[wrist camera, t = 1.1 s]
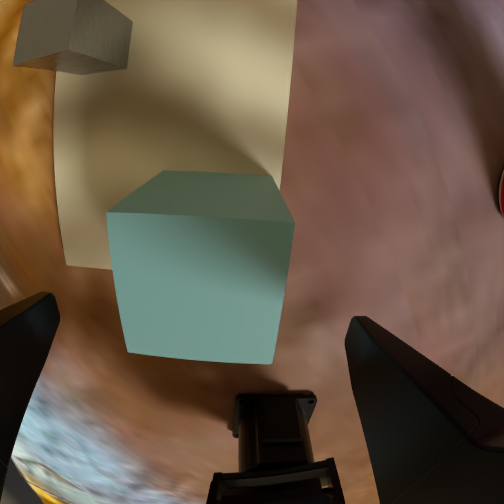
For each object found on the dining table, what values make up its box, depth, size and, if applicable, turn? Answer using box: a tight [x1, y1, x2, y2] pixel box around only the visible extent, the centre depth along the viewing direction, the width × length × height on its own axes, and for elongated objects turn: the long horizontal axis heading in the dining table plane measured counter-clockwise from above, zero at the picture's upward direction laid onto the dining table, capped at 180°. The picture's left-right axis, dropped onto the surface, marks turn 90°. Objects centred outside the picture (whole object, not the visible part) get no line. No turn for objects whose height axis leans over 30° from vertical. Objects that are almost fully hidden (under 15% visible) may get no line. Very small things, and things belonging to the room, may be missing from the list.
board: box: [53, 0, 297, 270], centre depth 13 cm, size 16×12×1 cm
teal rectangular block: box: [106, 170, 295, 364], centre depth 12 cm, size 5×5×7 cm
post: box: [13, 0, 133, 75], centre depth 8 cm, size 3×3×6 cm
